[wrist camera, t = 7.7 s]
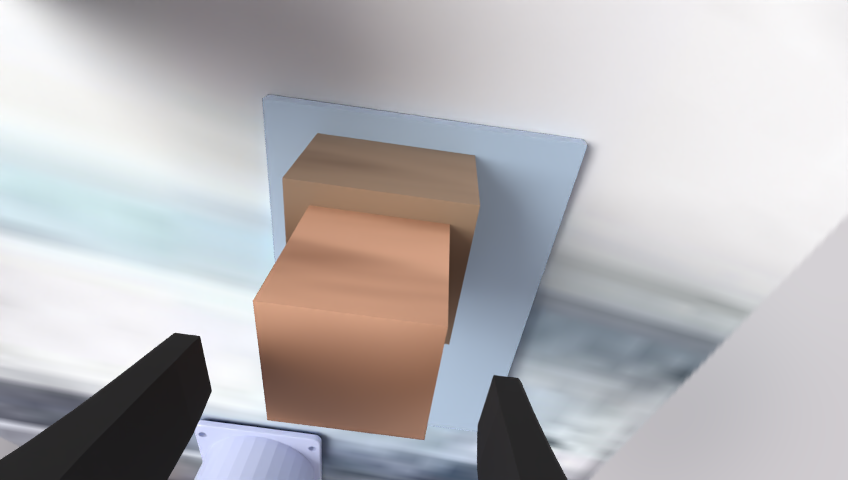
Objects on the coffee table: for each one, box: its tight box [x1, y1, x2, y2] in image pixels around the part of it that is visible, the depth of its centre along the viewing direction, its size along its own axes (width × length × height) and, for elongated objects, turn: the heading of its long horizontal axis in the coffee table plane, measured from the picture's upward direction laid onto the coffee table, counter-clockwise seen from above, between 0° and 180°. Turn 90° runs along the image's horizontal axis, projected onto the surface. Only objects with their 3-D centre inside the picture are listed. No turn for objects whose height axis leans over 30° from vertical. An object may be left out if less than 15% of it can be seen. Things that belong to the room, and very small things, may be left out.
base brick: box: [282, 133, 480, 345], centre depth 16 cm, size 6×6×4 cm
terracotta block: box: [253, 205, 450, 440], centre depth 13 cm, size 4×4×4 cm
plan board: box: [262, 94, 588, 432], centre depth 21 cm, size 18×12×1 cm, turn 173°
